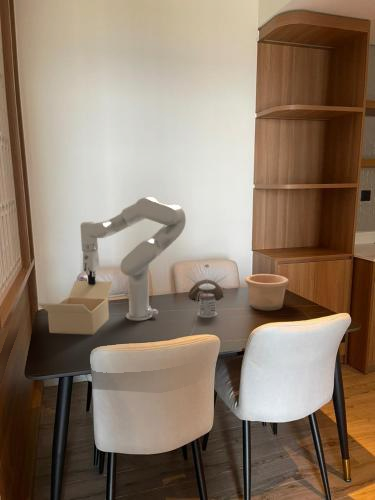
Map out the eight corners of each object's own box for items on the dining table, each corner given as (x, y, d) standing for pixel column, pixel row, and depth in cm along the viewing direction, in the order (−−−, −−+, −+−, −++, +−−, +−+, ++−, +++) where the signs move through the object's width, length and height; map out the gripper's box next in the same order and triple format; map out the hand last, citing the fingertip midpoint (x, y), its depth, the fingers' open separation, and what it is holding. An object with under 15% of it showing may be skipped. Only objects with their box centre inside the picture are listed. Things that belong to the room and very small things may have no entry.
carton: (109, 318, 183) (107, 298, 181) (93, 334, 163) (92, 312, 161) (69, 317, 185) (68, 297, 184) (49, 332, 166) (47, 310, 164)
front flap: (82, 304, 153) (82, 305, 152) (91, 312, 161) (90, 313, 161) (37, 303, 155) (37, 304, 155) (48, 310, 164) (48, 311, 164)
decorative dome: (230, 295, 218) (230, 278, 216) (209, 304, 203) (209, 285, 202) (203, 289, 230) (203, 273, 229) (182, 297, 215) (181, 280, 214)
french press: (221, 313, 187) (221, 263, 183) (206, 319, 179) (205, 268, 174) (206, 309, 194) (205, 261, 189) (190, 315, 185) (190, 265, 181)
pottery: (281, 314, 184) (281, 286, 182) (238, 308, 195) (238, 281, 192) (292, 302, 203) (293, 276, 200) (253, 297, 213) (253, 272, 211)
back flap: (107, 298, 181) (107, 298, 181) (111, 281, 187) (112, 282, 188) (68, 297, 184) (69, 297, 184) (74, 281, 190) (75, 281, 190)
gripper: (91, 250, 176) (93, 288, 179) (102, 245, 191) (104, 280, 194) (75, 250, 177) (78, 288, 180) (88, 245, 192) (90, 280, 195)
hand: (91, 284), depth 187 cm, fingers closed
